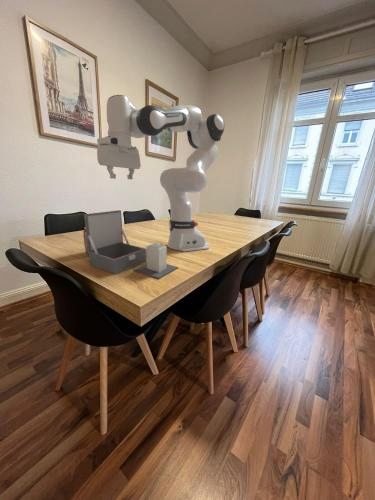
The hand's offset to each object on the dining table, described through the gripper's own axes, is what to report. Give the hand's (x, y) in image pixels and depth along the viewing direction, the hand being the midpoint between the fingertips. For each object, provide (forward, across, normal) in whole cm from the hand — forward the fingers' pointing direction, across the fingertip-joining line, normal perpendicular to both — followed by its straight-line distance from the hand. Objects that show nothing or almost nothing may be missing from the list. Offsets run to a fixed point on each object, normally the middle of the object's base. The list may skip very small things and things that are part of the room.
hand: (121, 179), depth 88 cm
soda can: (+33, +9, -11) cm, 36 cm away
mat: (+33, +8, +24) cm, 42 cm away
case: (+33, +11, +8) cm, 36 cm away
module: (+32, +8, +24) cm, 41 cm away
